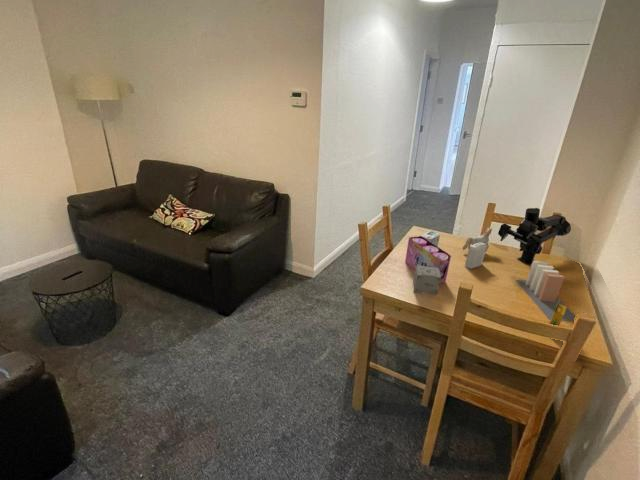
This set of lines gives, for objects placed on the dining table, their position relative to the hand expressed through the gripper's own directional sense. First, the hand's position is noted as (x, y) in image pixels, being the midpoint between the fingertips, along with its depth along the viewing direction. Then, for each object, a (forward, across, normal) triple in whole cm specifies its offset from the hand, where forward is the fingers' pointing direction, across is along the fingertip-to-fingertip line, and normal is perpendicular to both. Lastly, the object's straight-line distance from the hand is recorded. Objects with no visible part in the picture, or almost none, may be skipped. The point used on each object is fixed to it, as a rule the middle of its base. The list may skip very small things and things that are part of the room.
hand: (510, 245), depth 157 cm
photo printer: (+8, -10, +16) cm, 20 cm away
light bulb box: (+16, -32, +18) cm, 40 cm away
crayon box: (+31, +33, +3) cm, 45 cm away
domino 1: (+3, +16, +12) cm, 20 cm away
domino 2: (+6, +19, +11) cm, 23 cm away
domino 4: (+11, +24, +9) cm, 28 cm away
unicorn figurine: (-9, -18, +21) cm, 30 cm away
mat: (+10, +24, +9) cm, 28 cm away
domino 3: (+8, +22, +10) cm, 25 cm away
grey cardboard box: (+47, -11, +7) cm, 49 cm away
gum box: (+33, -21, +12) cm, 41 cm away
